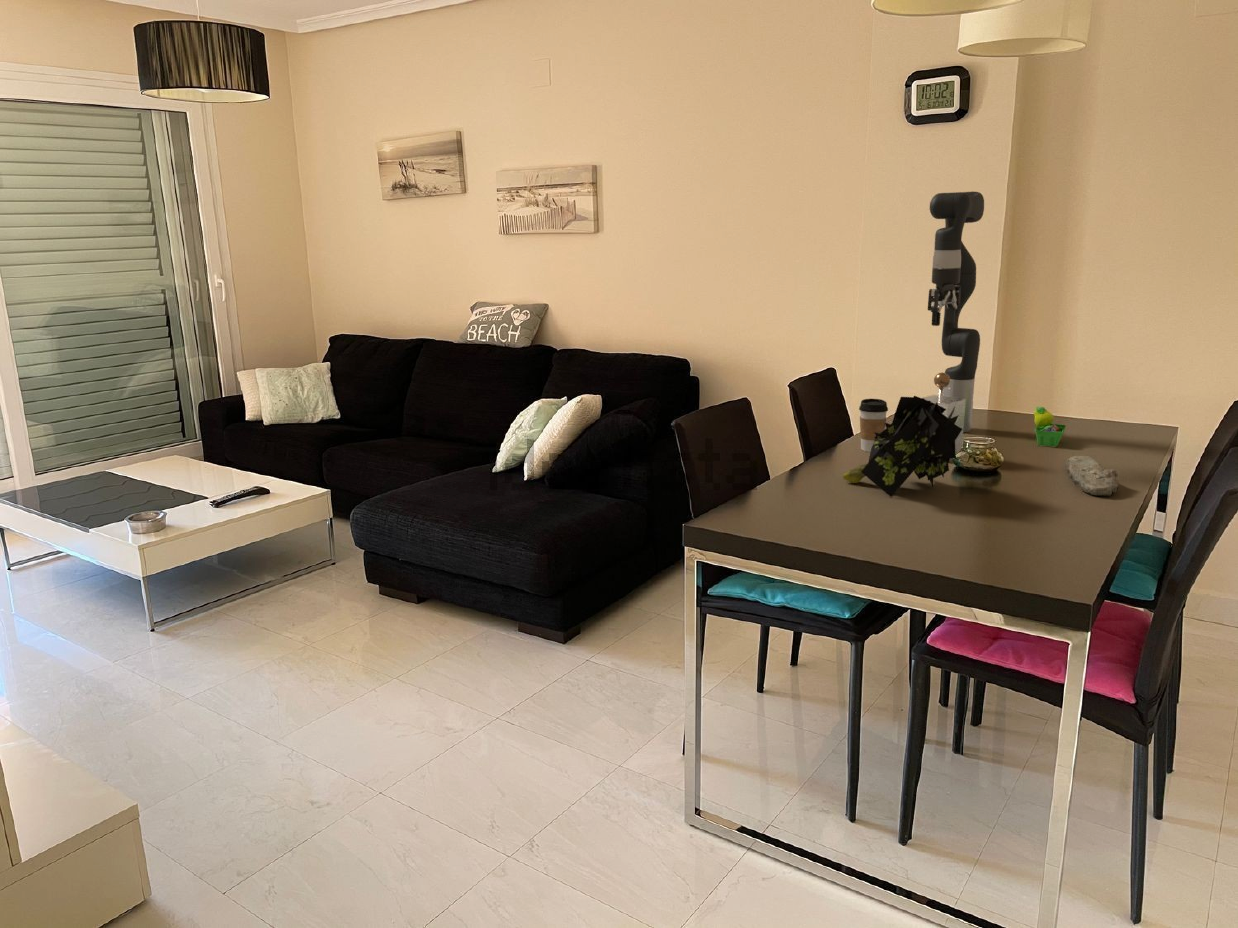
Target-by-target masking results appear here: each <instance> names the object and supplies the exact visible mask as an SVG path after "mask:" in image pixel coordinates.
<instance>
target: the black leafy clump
mask: <svg viewBox="0 0 1238 928" xmlns="http://www.w3.org/2000/svg"><path fill="white" fill-rule="evenodd" d="M954 409H955V407H954ZM954 409H953V410H952V412H951V414H950V415H949V417H948V418H947V417H946V416H945V415H943V414H942V413H943V412H944V411H945V410H946V409H945V408H943V407H941V406H939V405H938V403H937V402H936V404H935V403H932V402H931V401H930V400H929V401H927V400H925V399H924V398H923V397H919V396H916V395H914V396H913V397H912V396H900V398H899V401H898V404H897V407H896V409H895V412H894V415H893V419H892V422H891V423H888V422H886V423H885V430H884V431H882V432H881V433H880V434H879V433H876V432H875V434H876V437H874V438H875V441H874V443H873V446H872V448H871V452H869V456H868V462H867V463H863V464H859V465H857V466H855V467H854V468H852V469H850V470H848V471H847V472H845V473H844V474H843V475H842V478H843V480H846V481H847V482H850V483H851V484H854V483H857V484H858V483H860V482H861V480H862V479H864V478H865V477H867V479H868V480H870V482H873V483H874V484H875V485H876V486H877V487H878V488H879V489H881V490H882V491H883V492H884V493H885V494H887V495H888V496H889V497H890V498H892V497H893V496H894V495H895V493H897V491H898V490H899V489H900V487H901V486H902V485H903V484H904V483H905V481H907V480H908V478H909V477H910V476H911V475H912V474H913V472H914V474H915V475H916V477H917V479H918V480H921V479H923V478H924V477H927V481H929V482H930V484H931V486H932V488H934V479H935V478H939V477H940V476H942V478H944V475H945V474H946V473H947V472H949V471H950V468H949V463H950V461H951V460H950V458H956V456H955V440H956V438H957V437H958V435H959V434H960V432H961V431H962V428H960V427H958V426H957V425H955V422H956V420H957V418H958V416H959V415H958V416H955V417H953V418H951V417H952V414H953V412H954ZM956 459H957V458H956ZM949 460H950V461H949Z"/></svg>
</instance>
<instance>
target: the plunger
mask: <svg viewBox="0 0 1238 928" xmlns="http://www.w3.org/2000/svg"><path fill="white" fill-rule="evenodd" d="M933 383H934V386H936V387H937V388H938V396H939V398H938V400H943V392H944V388H945V387H947V386H948V385H949V383H950V377H949V375H948V374H946V373H945V372H939V373H936V375H935V376H934V378H933Z"/></svg>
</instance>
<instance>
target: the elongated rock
mask: <svg viewBox="0 0 1238 928" xmlns="http://www.w3.org/2000/svg"><path fill="white" fill-rule="evenodd" d="M1065 466H1066V468H1065V470H1066V471H1068V473H1069V478H1071V479H1072V481H1073V483H1074V484H1076V485H1077V486H1078V488H1079V487H1080V488H1079V489H1080V490H1081V491H1082V490H1083V491H1084V493H1087V494H1090V495H1094V496H1111V495H1112V493H1116V492H1117V488H1118V487H1119V481H1118V480H1117V479H1116V477H1118V475H1119V474H1118V471H1117V470H1116V469H1112V468H1111V469H1110V468H1106V469H1105V468H1104V467H1103V466H1102V465H1101V463H1100V462H1097V460H1096V459H1095V457H1091V456H1088V455H1073V456H1072V457H1069V458H1067V460H1066V462H1065ZM1083 491H1082V492H1083Z"/></svg>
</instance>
